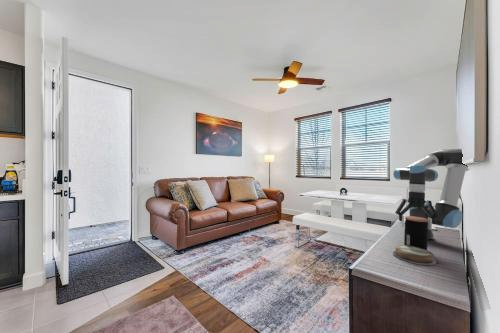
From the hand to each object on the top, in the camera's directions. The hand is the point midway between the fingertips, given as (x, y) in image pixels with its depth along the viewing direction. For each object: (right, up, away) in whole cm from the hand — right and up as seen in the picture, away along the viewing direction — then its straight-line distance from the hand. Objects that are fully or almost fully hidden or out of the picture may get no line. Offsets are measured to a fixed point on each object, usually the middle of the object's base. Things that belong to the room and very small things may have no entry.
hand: (415, 228), depth 126 cm
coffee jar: (0, -13, 0) cm, 13 cm away
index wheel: (-11, -12, -13) cm, 20 cm away
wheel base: (-11, -12, -13) cm, 20 cm away
